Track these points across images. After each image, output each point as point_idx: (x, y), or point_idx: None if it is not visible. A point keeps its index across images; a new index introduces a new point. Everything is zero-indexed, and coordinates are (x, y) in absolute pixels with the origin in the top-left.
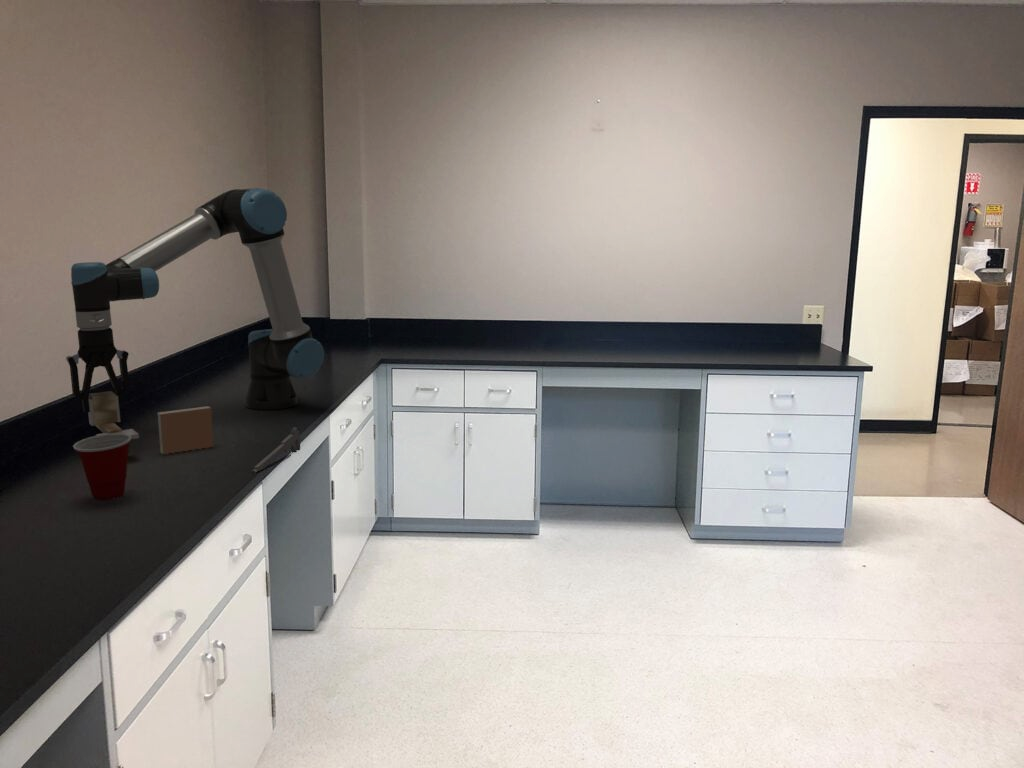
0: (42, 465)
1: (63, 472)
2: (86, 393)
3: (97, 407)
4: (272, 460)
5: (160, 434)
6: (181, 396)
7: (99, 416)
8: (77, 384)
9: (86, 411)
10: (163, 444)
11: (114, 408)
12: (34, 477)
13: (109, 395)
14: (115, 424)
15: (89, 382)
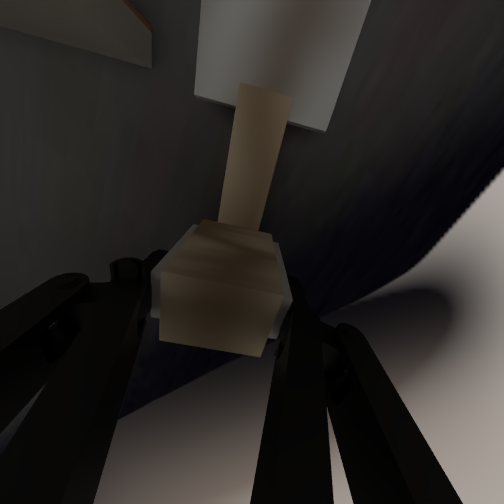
0: (401, 199)
1: (431, 82)
2: (306, 330)
3: (263, 259)
4: None
5: (108, 8)
6: None
7: (258, 241)
8: (381, 407)
9: (292, 278)
10: (128, 3)
11: (197, 238)
12: (500, 97)
13: (195, 274)
14: (223, 191)
15: (297, 399)
